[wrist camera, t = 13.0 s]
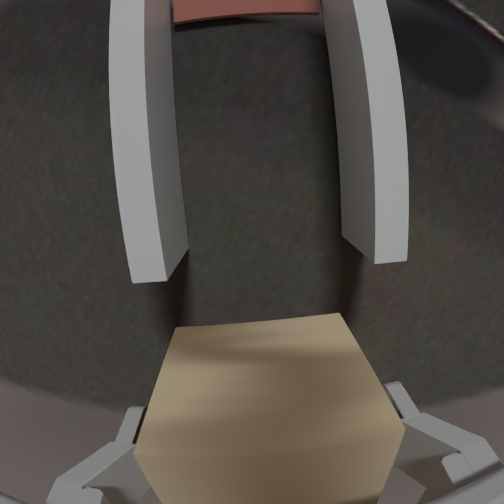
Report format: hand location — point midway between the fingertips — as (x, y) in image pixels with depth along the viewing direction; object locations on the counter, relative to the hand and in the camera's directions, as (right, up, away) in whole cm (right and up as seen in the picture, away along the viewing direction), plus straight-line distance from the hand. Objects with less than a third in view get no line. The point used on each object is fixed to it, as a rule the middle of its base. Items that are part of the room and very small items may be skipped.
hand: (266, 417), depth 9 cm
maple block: (0, -1, +2) cm, 2 cm away
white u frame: (0, +12, +3) cm, 12 cm away
